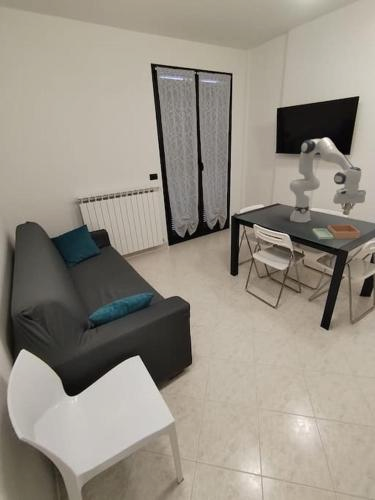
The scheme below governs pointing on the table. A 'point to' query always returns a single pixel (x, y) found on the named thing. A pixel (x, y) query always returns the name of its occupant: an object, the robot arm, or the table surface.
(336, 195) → the robot arm
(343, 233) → the orange hollow square box
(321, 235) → the green tray
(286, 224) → the table surface
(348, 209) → the birch cylinder
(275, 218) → the table surface
